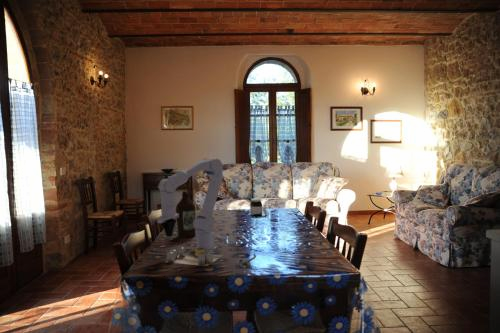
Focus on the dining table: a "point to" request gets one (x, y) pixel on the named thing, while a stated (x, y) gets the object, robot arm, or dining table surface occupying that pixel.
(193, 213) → the olive oil
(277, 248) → the dining table surface
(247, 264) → the pliers
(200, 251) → the nut
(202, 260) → the grey piece
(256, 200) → the spread jar
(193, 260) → the board
